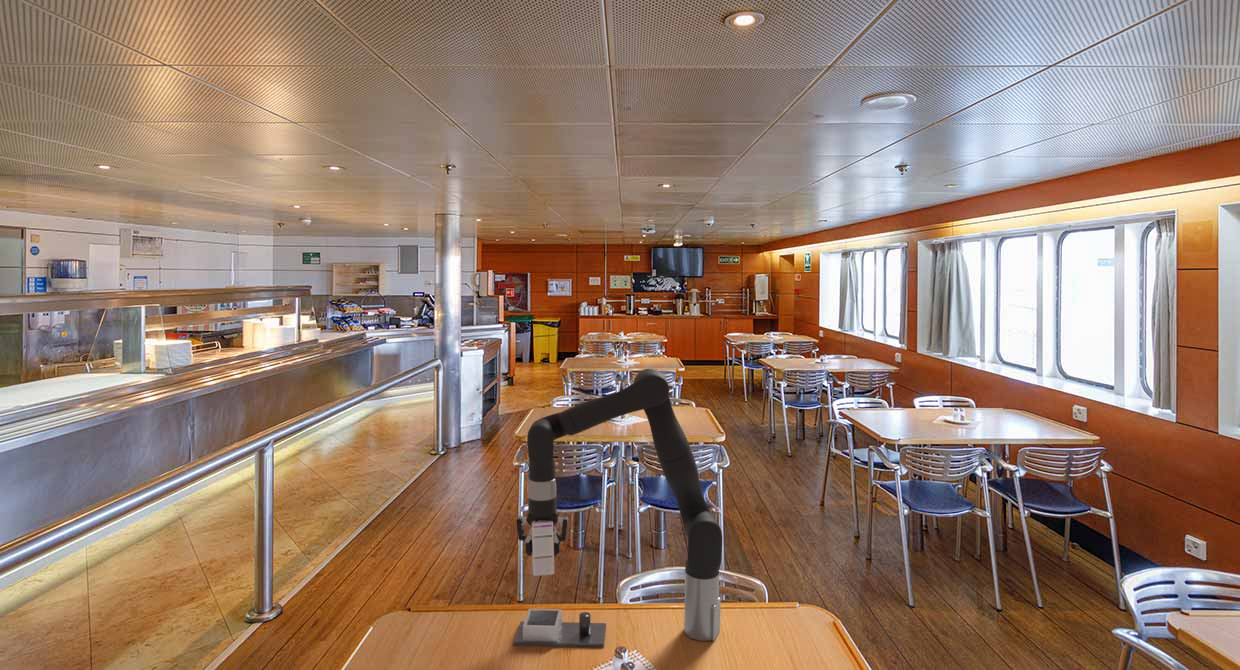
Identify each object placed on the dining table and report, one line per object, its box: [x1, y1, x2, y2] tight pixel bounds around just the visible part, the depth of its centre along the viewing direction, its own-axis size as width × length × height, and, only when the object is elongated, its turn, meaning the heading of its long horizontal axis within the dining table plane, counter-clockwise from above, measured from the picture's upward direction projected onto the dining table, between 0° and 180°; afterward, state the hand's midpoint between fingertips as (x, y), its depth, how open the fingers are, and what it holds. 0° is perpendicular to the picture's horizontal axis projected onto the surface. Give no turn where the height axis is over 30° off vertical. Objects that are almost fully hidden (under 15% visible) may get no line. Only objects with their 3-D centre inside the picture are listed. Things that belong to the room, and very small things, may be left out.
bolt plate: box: [513, 608, 607, 648], centre depth 171 cm, size 24×10×6 cm, turn 88°
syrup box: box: [531, 520, 555, 577], centre depth 169 cm, size 6×6×14 cm
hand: (542, 554), depth 169 cm, fingers closed on syrup box, 6 cm apart
